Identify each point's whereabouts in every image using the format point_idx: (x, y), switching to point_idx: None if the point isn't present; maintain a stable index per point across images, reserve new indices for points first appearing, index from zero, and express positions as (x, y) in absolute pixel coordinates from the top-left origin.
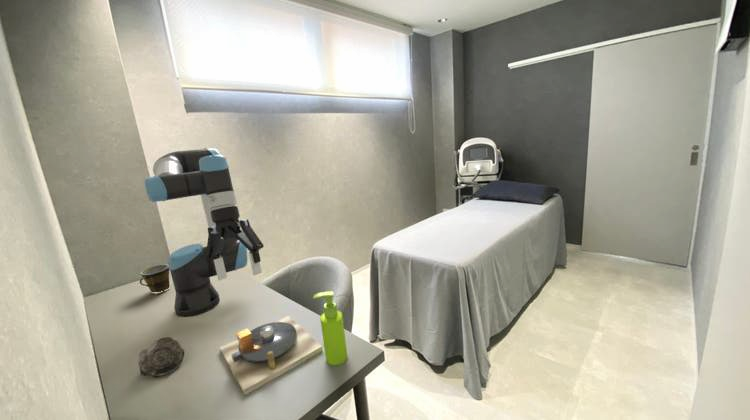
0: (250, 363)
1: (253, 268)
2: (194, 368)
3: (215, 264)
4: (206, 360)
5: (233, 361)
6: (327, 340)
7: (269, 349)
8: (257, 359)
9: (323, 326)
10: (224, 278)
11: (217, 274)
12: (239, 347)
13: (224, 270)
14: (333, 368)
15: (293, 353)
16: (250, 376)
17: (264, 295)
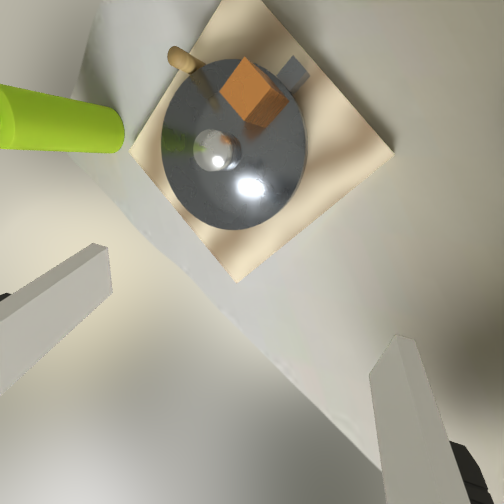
0: None
1: (59, 267)
2: (459, 69)
3: (452, 485)
4: (428, 112)
5: (315, 87)
6: (53, 96)
7: (204, 102)
8: (222, 61)
9: (16, 90)
10: (378, 360)
11: (423, 379)
12: (294, 108)
13: (379, 422)
14: (104, 98)
15: None
16: (241, 29)
17: (354, 419)
